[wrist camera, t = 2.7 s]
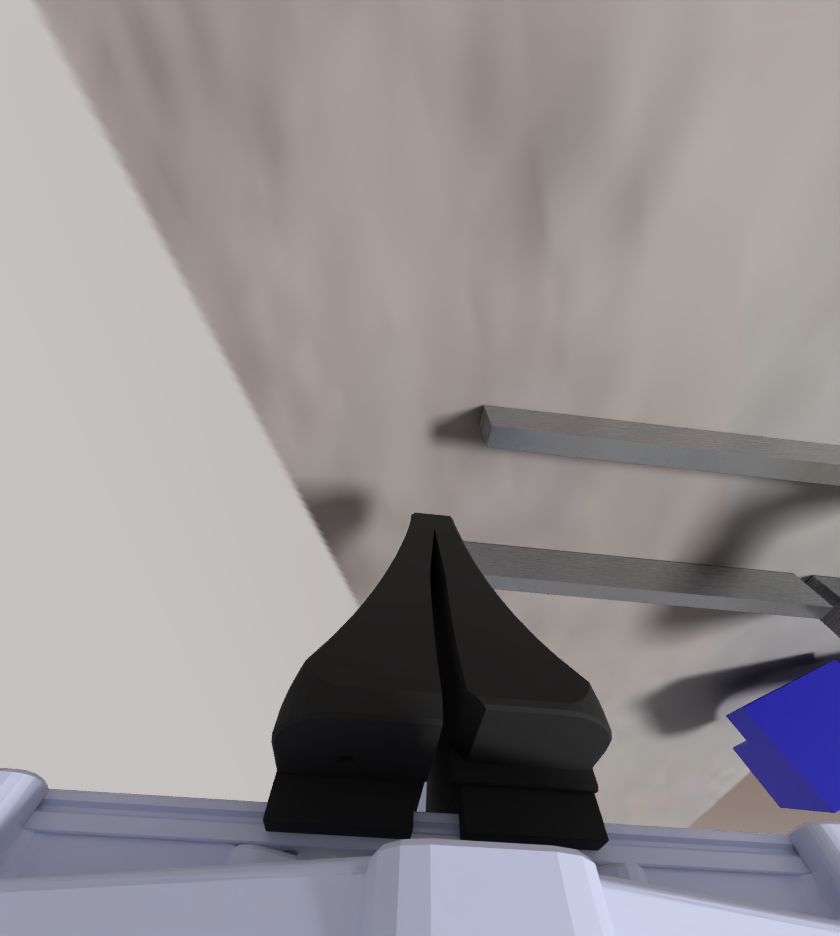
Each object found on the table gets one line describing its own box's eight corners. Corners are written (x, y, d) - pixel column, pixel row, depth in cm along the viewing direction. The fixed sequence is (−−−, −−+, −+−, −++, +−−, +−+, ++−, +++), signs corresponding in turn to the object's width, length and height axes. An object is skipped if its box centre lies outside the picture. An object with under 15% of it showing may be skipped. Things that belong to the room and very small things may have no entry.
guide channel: (783, 585, 18) (821, 619, 16) (452, 553, 17) (455, 585, 16) (901, 452, 14) (966, 478, 13) (483, 405, 14) (491, 426, 12)
